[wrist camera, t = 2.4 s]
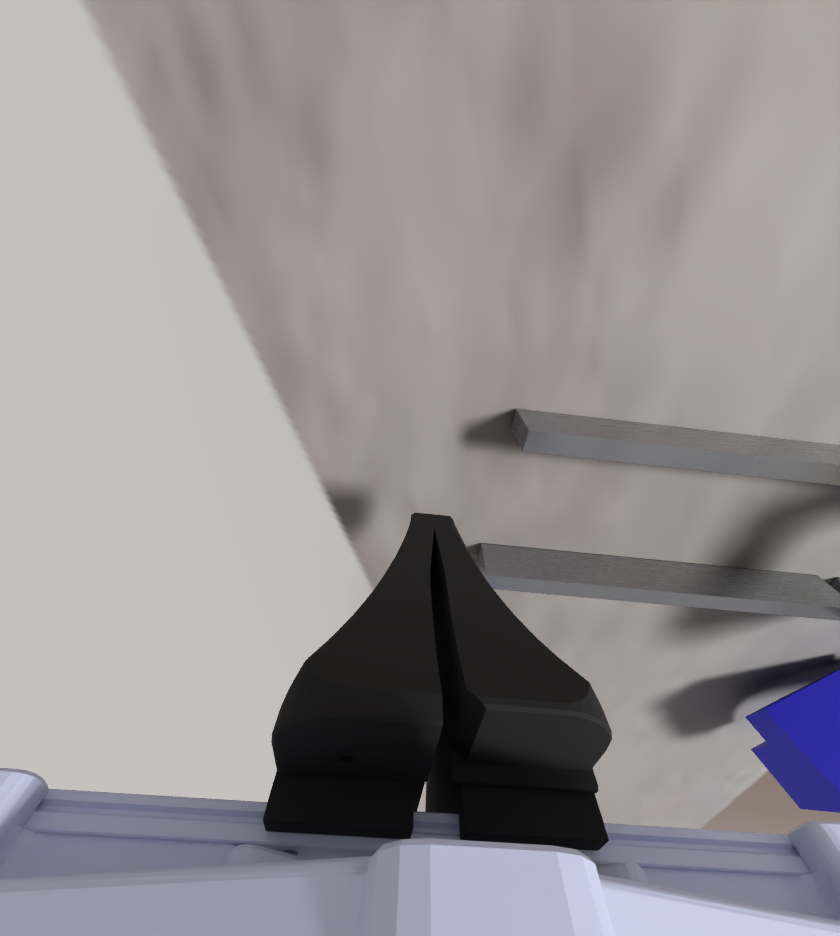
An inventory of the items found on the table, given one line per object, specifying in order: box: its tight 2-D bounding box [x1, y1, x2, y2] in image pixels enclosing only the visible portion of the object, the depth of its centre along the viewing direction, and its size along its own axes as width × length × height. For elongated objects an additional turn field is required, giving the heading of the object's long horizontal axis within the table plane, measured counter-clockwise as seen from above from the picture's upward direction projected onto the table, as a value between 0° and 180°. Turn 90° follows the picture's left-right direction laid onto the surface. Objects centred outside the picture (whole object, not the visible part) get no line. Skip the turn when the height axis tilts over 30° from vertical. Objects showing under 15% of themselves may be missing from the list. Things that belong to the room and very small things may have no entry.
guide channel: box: [478, 409, 840, 620], centre depth 15 cm, size 8×17×2 cm, turn 84°
